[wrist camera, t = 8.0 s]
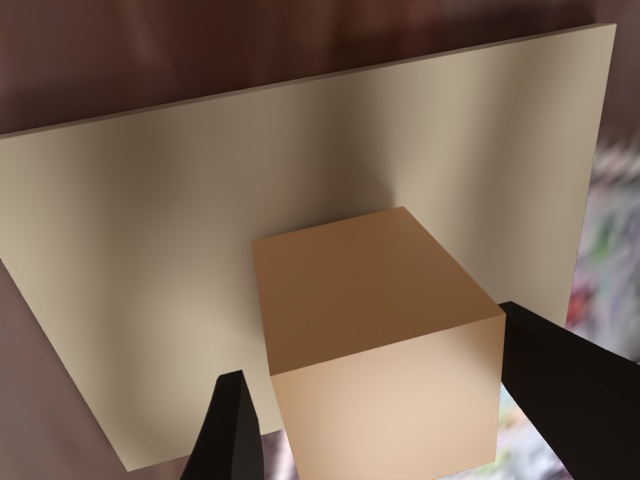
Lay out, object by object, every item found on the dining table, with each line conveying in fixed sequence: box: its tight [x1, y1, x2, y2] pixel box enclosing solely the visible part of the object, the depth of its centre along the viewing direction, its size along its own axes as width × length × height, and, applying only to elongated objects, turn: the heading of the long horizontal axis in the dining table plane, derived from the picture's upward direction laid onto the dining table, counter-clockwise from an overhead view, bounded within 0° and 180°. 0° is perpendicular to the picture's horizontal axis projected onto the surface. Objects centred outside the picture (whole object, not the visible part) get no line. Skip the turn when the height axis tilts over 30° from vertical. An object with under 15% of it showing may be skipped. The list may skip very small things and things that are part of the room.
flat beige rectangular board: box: [0, 23, 617, 472], centre depth 14 cm, size 20×14×7 cm
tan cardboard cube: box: [251, 206, 506, 480], centre depth 13 cm, size 5×5×6 cm
